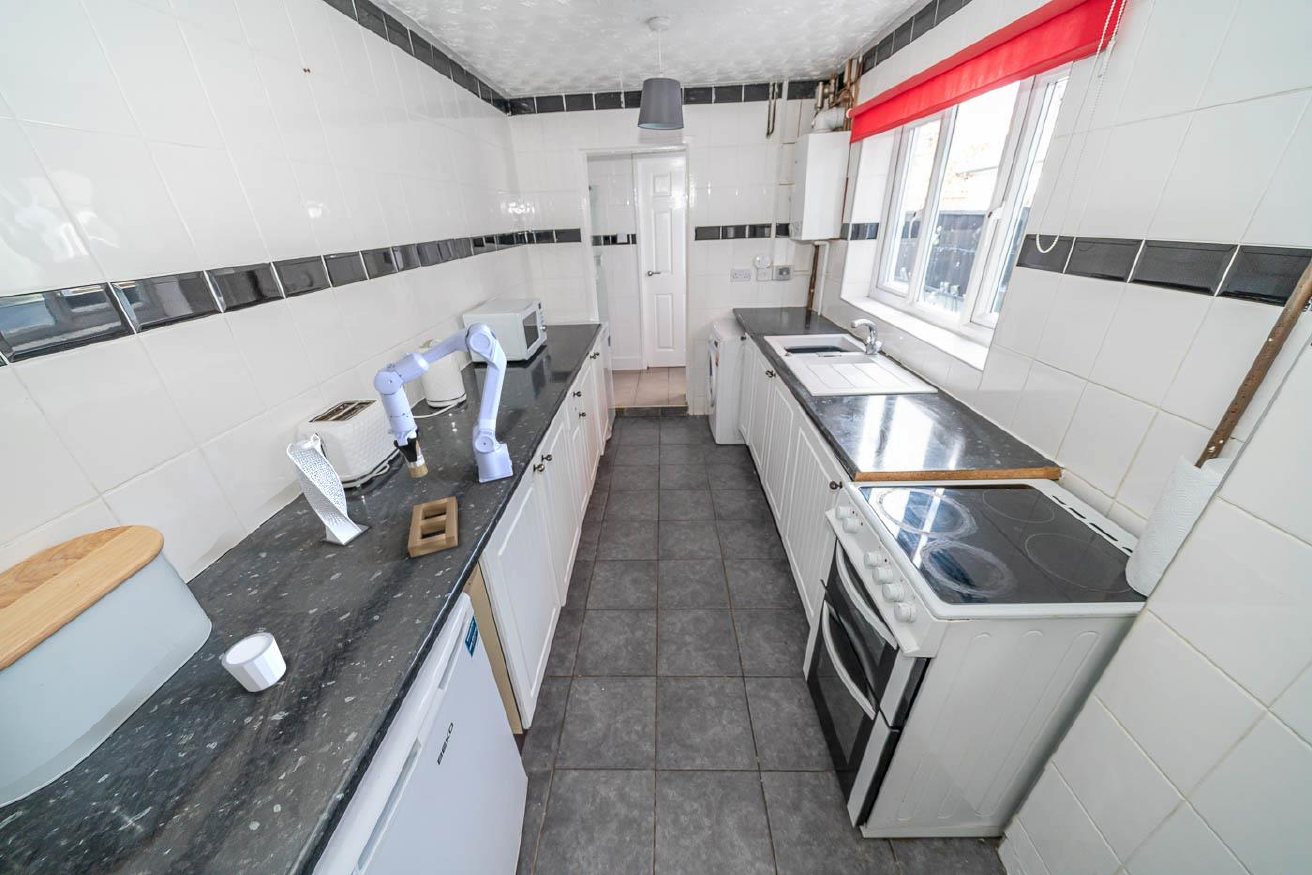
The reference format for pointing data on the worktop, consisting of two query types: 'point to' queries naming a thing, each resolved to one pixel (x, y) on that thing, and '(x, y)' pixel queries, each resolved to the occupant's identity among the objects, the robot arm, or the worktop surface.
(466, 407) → the worktop surface
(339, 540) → the skyscraper
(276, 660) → the white faceted cup
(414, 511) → the holder
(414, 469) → the sprinkles bottle
